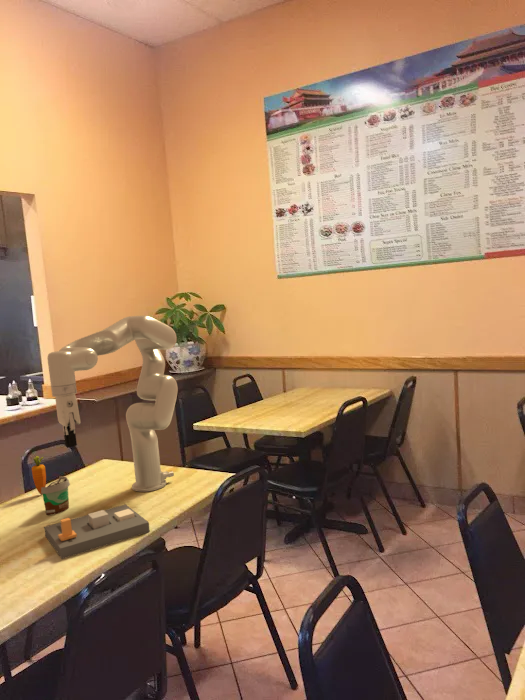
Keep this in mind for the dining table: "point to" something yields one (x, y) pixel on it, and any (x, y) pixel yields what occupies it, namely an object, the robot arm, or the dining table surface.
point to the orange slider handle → (66, 530)
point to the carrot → (39, 474)
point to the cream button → (124, 515)
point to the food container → (56, 496)
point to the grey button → (98, 519)
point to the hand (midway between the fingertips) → (71, 446)
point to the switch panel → (95, 532)
